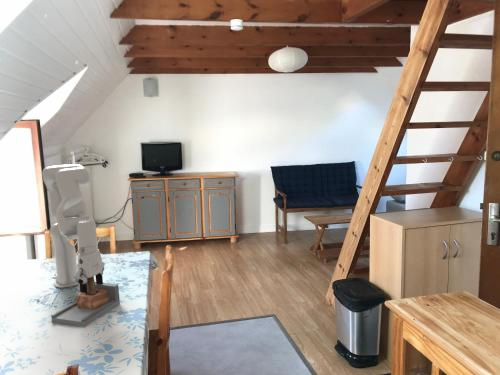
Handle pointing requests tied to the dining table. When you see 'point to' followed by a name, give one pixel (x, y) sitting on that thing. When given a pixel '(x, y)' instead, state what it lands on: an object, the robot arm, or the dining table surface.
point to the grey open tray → (85, 315)
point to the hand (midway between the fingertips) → (91, 288)
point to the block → (92, 299)
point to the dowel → (91, 286)
